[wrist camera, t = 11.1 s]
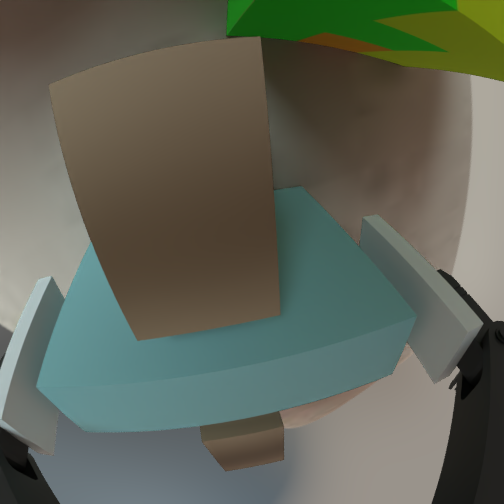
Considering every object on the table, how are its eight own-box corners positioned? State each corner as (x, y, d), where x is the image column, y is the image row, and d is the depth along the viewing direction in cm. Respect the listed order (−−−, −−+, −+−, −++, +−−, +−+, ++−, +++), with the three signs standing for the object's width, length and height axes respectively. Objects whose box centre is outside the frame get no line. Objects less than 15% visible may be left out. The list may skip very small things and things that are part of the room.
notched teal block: (116, 269, 16) (85, 431, 8) (99, 224, 14) (36, 387, 6) (302, 234, 17) (391, 373, 9) (301, 186, 15) (417, 315, 7)
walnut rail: (145, 83, 11) (48, 84, 3) (210, 71, 11) (260, 36, 3) (204, 333, 20) (225, 471, 12) (246, 325, 20) (284, 459, 12)
